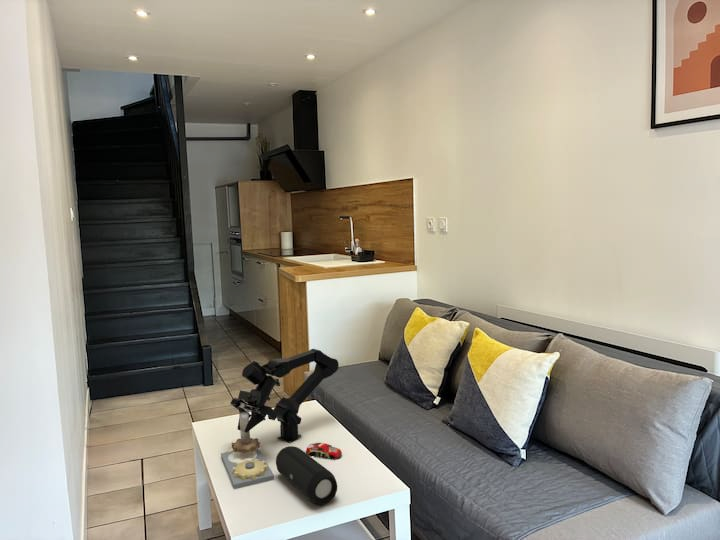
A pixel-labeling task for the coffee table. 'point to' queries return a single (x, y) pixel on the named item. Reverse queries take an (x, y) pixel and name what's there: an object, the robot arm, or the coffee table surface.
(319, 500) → the portable speaker
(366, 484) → the coffee table surface
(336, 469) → the coffee table surface
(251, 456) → the gear board
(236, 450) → the walnut gear
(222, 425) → the coffee table surface
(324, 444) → the race car
